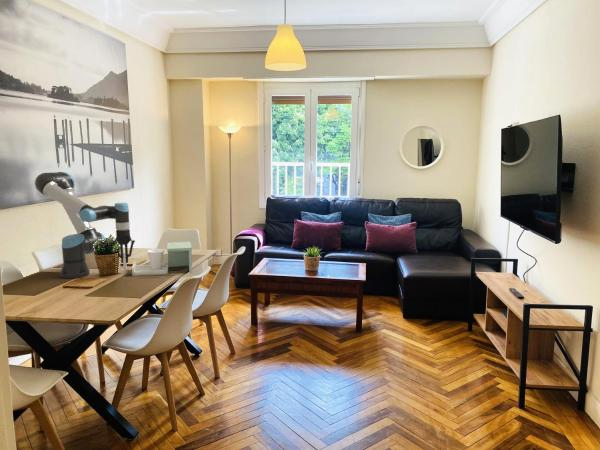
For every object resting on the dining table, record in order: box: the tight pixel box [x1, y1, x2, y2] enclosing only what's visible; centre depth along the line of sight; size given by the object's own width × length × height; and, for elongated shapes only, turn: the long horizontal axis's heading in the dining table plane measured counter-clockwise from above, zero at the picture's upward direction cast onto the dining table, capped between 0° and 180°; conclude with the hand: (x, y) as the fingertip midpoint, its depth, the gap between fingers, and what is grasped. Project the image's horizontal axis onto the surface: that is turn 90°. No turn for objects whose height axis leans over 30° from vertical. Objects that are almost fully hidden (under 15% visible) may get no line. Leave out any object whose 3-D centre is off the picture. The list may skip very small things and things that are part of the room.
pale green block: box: [166, 241, 193, 274], centre depth 272 cm, size 14×19×16 cm
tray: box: [131, 260, 169, 277], centre depth 267 cm, size 20×16×5 cm
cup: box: [146, 248, 165, 269], centre depth 270 cm, size 10×10×11 cm
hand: (125, 268), depth 263 cm, fingers closed
